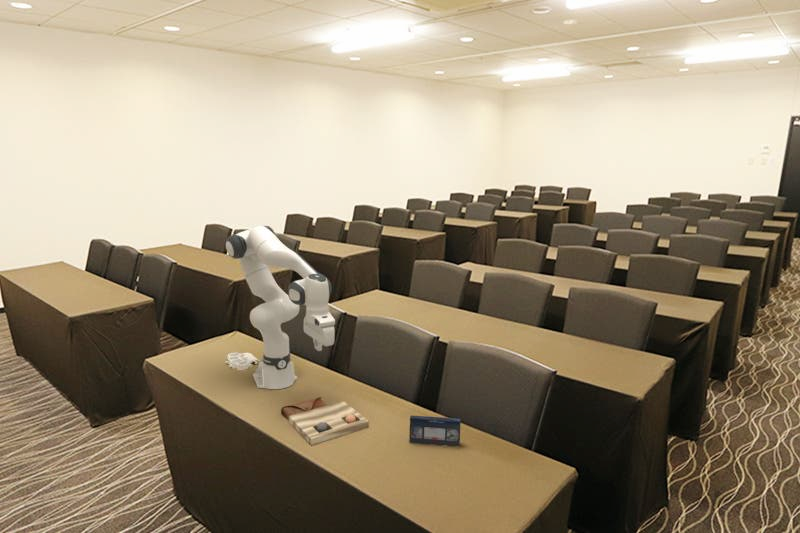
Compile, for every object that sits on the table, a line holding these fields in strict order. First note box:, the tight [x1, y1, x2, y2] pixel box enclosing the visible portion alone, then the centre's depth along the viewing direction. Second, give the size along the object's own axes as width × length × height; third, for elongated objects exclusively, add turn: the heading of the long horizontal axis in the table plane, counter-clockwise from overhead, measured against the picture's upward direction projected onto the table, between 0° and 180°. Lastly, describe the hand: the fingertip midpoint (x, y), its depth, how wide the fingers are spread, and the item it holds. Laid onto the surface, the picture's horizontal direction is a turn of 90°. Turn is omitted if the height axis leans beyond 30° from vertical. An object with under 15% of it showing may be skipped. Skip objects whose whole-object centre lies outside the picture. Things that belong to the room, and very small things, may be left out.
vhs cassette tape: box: [408, 415, 462, 447], centre depth 187 cm, size 18×3×10 cm, turn 82°
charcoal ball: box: [317, 422, 327, 433], centre depth 193 cm, size 4×4×4 cm
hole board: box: [288, 400, 370, 446], centre depth 199 cm, size 20×24×2 cm
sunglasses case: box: [280, 397, 326, 422], centre depth 209 cm, size 18×7×7 cm, turn 125°
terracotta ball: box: [345, 414, 356, 424], centre depth 199 cm, size 4×4×4 cm
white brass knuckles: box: [224, 352, 261, 370], centre depth 256 cm, size 3×18×15 cm
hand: (318, 349), depth 203 cm, fingers closed
